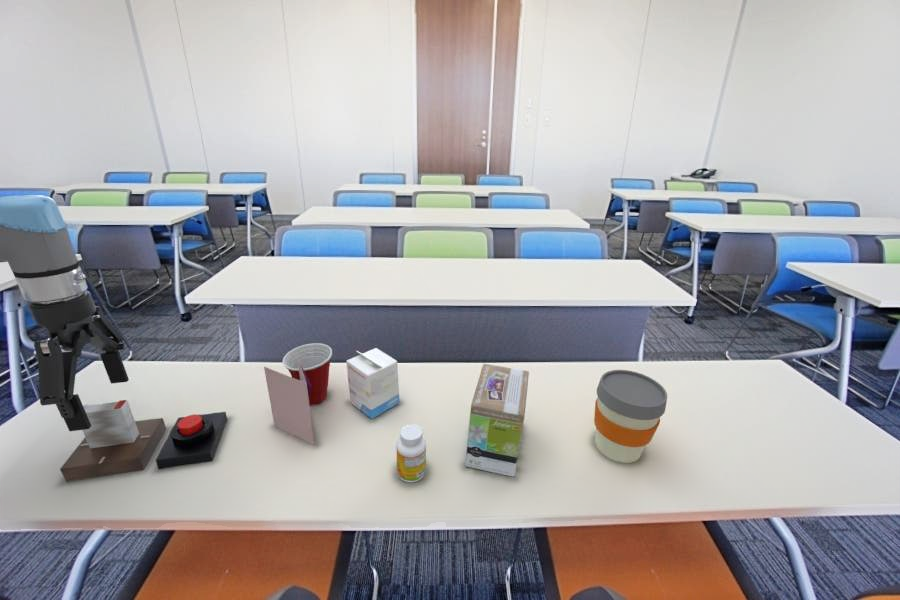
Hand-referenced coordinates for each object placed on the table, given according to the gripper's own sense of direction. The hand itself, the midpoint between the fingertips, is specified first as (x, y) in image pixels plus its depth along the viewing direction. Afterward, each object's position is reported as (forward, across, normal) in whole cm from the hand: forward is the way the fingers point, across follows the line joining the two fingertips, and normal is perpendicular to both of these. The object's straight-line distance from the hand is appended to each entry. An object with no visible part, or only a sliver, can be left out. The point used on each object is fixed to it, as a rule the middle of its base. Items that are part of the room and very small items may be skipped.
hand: (102, 403), depth 72 cm
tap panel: (+12, 0, 0) cm, 12 cm away
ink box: (+12, +5, -49) cm, 51 cm away
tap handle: (+9, 0, 0) cm, 9 cm away
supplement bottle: (+12, -17, -54) cm, 58 cm away
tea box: (+13, -14, -72) cm, 74 cm away
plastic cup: (+12, +10, -35) cm, 38 cm away
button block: (+12, 0, -13) cm, 17 cm away
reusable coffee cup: (+13, -20, -97) cm, 100 cm away
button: (+8, 0, -13) cm, 15 cm away
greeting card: (+12, -1, -32) cm, 34 cm away
